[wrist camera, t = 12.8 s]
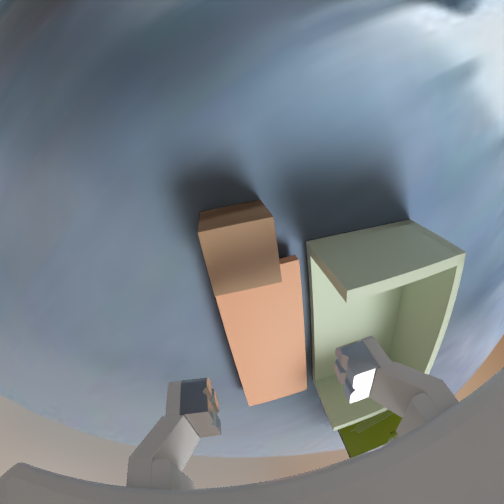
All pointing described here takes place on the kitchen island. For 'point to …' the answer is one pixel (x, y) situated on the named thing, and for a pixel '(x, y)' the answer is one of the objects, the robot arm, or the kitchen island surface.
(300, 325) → the board
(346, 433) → the tea box
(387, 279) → the box
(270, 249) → the walnut block
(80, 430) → the kitchen island surface
